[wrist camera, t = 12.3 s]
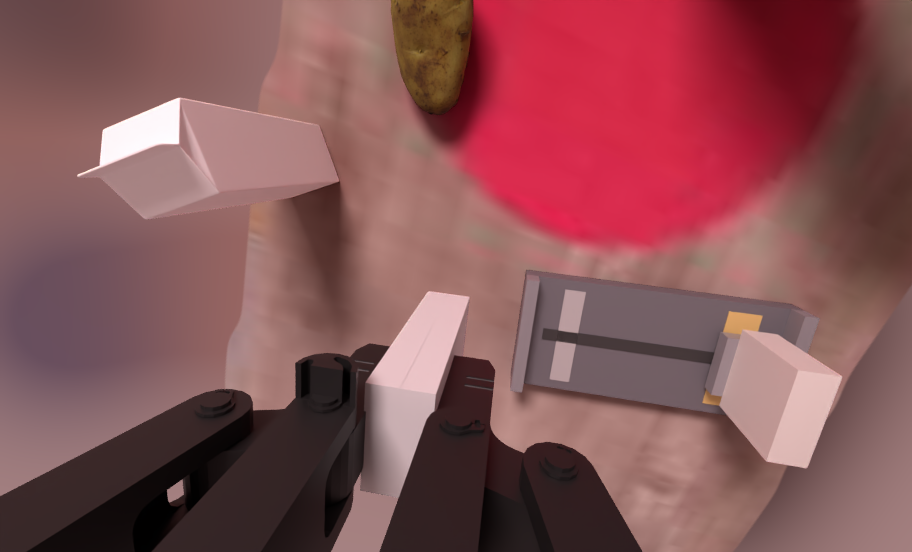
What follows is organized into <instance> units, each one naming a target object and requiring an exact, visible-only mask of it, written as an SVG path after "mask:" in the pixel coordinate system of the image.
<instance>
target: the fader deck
mask: <svg viewBox="0 0 912 552" xmlns="http://www.w3.org/2000/svg"><path fill="white" fill-rule="evenodd" d="M819 319H820V318H818V317H816V316H814V315H812V314H810V313H808V312H806V311H804V310H802V309H800V308H798V307H796V306H794V305H792V304H786V303H779V302H771V301H763V300H756V299H748V298H740V297H732V296H725V295H717V294H709V293H702V292H694V291H686V290H678V289H671V288H663V287H655V286H648V285H640V284H632V283H624V282H617V281H609V280H601V279H594V278H586V277H578V276H570V275H563V274H555V273H547V272H540V271H532V270H526V274H525V281H524V288H523V294H522V301H521V308H520V314H519V321H518V328H517V334H516V341H515V348H514V355H513V361H512V368H511V386H510V391H515V392H521V393H522V390H523V383H525V384H532V385H538V386H544V387H551V388H557V389H563V390H570V391H576V392H582V393H589V394H595V395H601V396H607V397H614V398H620V399H626V400H633V401H639V402H645V403H652V404H658V405H664V406H671V407H677V408H683V409H690V410H696V411H702V412H709V413H715V414H721V415H727V414H726V413H725V412H724V411H723V409H722V408H721V407H720V406H719V405H720V402H721V398H722V396H715V395H711V394H710V393H709V392H708V391H707V389H706V388H705V384H706V380H707V377H708V373H709V370H710V366H711V363H712V359H713V356H714V353H715V349H716V346H717V342H718V339H719V335H720V332H726V333H734V334H741V333H742V330H750V331H757V332H764V333H772V334H778V335H779V336H781V337H782V338H784V339H785V340H787V341H788V342H790V343H792V344H793V345H795V346H796V347H798V348H799V349H801V350H802V351H804V352H805V353H808V350H809V347H810V345H811V342H812V339H813V336H814V333H815V330H816V328H817V325H818V322H819Z"/></svg>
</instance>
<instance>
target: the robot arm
mask: <svg viewBox="0 0 912 552" xmlns="http://www.w3.org/2000/svg"><path fill="white" fill-rule="evenodd" d="M469 299H470V297H467V296H460V295H452V294H445V293H438V292H431V291H428V292H427V294H426V295H425V297H424V298H423V300H422V301H421V302H420V304H419V305H418V307H417V308H416V310H415V311H414V313H413V314H412V316H411V317H410V318H409V320H408V321H407V323H406V324H405V326H404V327H403V329H402V330H401V331H400V333H399V334H398V336H397V337H396V339H395V340H394V342H393V343H392V345H391V346H390V347H389V346H383V345H376V344H367V345H365V346H363V347H361V348H359V349H357V350H356V351H355V352H354V353H353V354H352V356H351V357H348V356H344V355H341V354H332V353H324V354H315V355H311V356H308V357H305V358H303V359H301V360H299V361H298V362H296V363H295V368H296V398H295V399H294V400H293V401H292V402H291V403H290V404H289V405H288V406H287V407H286V409H280V410H255V411H253V402H252V399H251V397H250V395H248V394H246V393H245V392H243V391H238V390H233V389H226V390H224V389H220V390H219V389H218V390H215V391H210V392H206V393H203V394H200V395H198V396H195V397H193V398H191V399H189V400H187V401H185V402H183V403H181V404H179V405H177V406H175V407H173V408H171V409H169V410H167V411H165V412H163V413H162V414H160V415H157V416H156V417H154V418H152V419H150V420H148V421H146V422H144V423H142V424H140V425H138V426H136V427H134V428H132V429H130V430H128V431H126V432H124V433H122V434H121V435H119V436H117V437H115V438H113V439H111V440H109V441H107V442H105V443H103V444H101V445H99V446H97V447H95V448H93V449H91V450H89V451H87V452H86V453H84V454H82V455H80V456H78V457H76V458H74V459H72V460H70V461H68V462H66V463H64V464H62V465H60V466H58V467H56V468H55V469H52V470H51V471H49V472H47V473H45V474H43V475H41V476H39V477H37V478H35V479H33V480H31V481H29V482H27V483H25V484H24V485H21V486H19V487H18V488H16V489H14V490H12V491H10V492H8V493H6V494H4V495H2V496H0V552H331V550H332V548H333V546H334V544H335V542H336V540H337V538H338V536H339V533H340V531H341V529H342V527H343V525H344V523H345V521H346V519H347V517H348V515H349V512H350V510H351V507H352V502H353V488H354V485H355V483H356V481H357V479H358V477H359V475H360V473H361V486H360V488H361V489H360V490H361V491H366V492H371V493H377V494H381V495H387V496H392V497H397V498H399V499H398V501H397V504H396V507H395V510H394V513H393V516H392V518H391V521H390V524H389V527H388V530H387V533H386V535H385V538H384V541H383V544H382V546H381V549H380V552H642V550H641V548H640V547H639V545H638V543H637V541H636V540H635V538H634V536H633V535H632V533H631V531H630V529H629V528H628V526H627V524H626V522H625V521H624V519H623V517H622V515H621V514H620V512H619V510H618V509H617V507H616V505H615V503H614V502H613V500H612V498H611V496H610V495H609V493H608V491H607V490H606V488H605V486H604V484H603V483H602V481H601V479H600V477H599V476H598V474H597V472H596V470H595V469H594V467H593V466H592V464H591V463H590V462H589V461H588V460H587V458H586V457H585V456H583V455H582V454H580V453H579V452H577V451H576V450H575V449H573V448H570V447H567V446H565V445H562V444H558V443H551V442H544V443H536V444H534V445H532V446H530V447H529V448H527V450H526V452H525V453H522V452H519V451H517V450H515V449H513V448H511V447H509V446H507V445H505V444H504V443H502V442H501V441H500V440H499V439H498V438H497V437H496V436H495V435H494V434H493V432H492V430H491V427H490V417H491V407H492V397H493V387H494V377H495V369H494V368H493V366H492V365H491V363H490V362H489V360H482V359H476V358H469V357H463V351H464V343H465V334H466V325H467V316H468V308H469ZM182 479H183V489H184V495H183V496H181V497H180V498H179V499H177V500H174V501H172V502H170V503H169V502H168V497H167V489H169V488H170V487H172V486H173V485H175V484H176V483H178V482H179V481H180V480H182Z"/></svg>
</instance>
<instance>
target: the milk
mask: <svg viewBox="0 0 912 552" xmlns="http://www.w3.org/2000/svg"><path fill="white" fill-rule="evenodd" d="M78 177H80V178H86V177H87V178H89V177H99V178H101V179H102V180H103V181H104V182H105V183H106V184H107V185H109V186H110V187H111V188H112V189H113V190H114V191H115V192H116V193H117V194H118V195H119V196H120V197H121V198H122V199H124V200H125V201H126V202H127V203H128V204H129V205H130V206H131V207H132V208H133V209H134V210H135V211H136V212H138V214H139V215H141V216H142V217H143V218H144V219H154V218H160V217H167V216H173V215H179V214H187V213H193V212H200V211H206V210H213V209H220V208H227V207H232V206H240V205H247V204H253V203H260V202H266V201H273V200H280V199H286V198H292V197H295V196H298V195H301V194H304V193H307V192H310V191H313V190H316V189H319V188H322V187H325V186H327V185H330V184H333V183H336V182H339V178H338V176H337V173H336V170H335V167H334V165H333V162H332V159H331V156H330V153H329V151H328V148H327V145H326V142H325V140H324V137H323V134H322V131H321V129H320V126H319V125H316V124H311V123H306V122H301V121H296V120H291V119H286V118H281V117H275V116H270V115H265V114H260V113H255V112H250V111H245V110H240V109H235V108H230V107H224V106H219V105H214V104H209V103H204V102H199V101H194V100H189V99H184V98H177V99H175V100H172V101H170V102H167V103H165V104H162V105H160V106H158V107H155V108H153V109H151V110H148V111H146V112H143V113H141V114H139V115H136V116H134V117H132V118H129V119H127V120H124V121H122V122H120V123H117V124H115V125H113V126H110V127H108V128H105V129H104V130H103V135H102V146H101V157H100V166H98V167H96V168H93V169H91V170H88V171H86V172H84V173H81V174H78Z"/></svg>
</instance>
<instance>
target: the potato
mask: <svg viewBox="0 0 912 552" xmlns="http://www.w3.org/2000/svg"><path fill="white" fill-rule="evenodd" d="M391 15H392V24H393V31H394V39H395V47H396V53H397V58H398V64H399V68H400V72H401V75H402V78H403V81H404V83H405V85H406V87H407V89H408V91H409V93H410V94H411V96H412V98H413V99H414V101H415V102H416V104H417V105H418V106H419V107H420V108H421V109H422V110H424V111H426V112H428V113H430V114H436V115H441V114H445V113H446V112H448V111H449V110H450V109H451V108H452V107H454V106H455V105H456V103H457V101H458V97H459V94H460V89H461V86H462V84H463V80H464V70H465V68H466V66H467V61H468V56H469V46H470V39H471V33H472V21H473V0H391Z"/></svg>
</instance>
